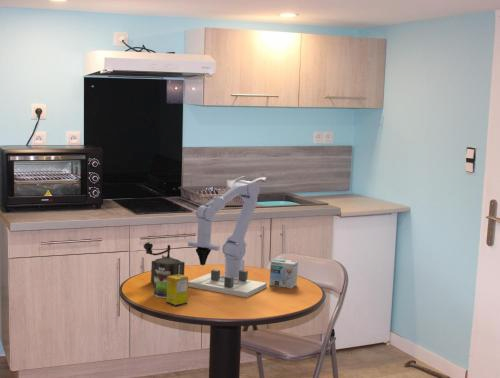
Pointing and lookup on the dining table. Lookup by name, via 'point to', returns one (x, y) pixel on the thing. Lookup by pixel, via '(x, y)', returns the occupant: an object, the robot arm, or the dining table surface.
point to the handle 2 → (243, 275)
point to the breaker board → (238, 287)
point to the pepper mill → (148, 248)
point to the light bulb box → (283, 273)
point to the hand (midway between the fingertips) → (202, 264)
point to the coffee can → (164, 275)
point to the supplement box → (177, 290)
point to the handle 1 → (228, 281)
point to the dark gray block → (215, 274)
